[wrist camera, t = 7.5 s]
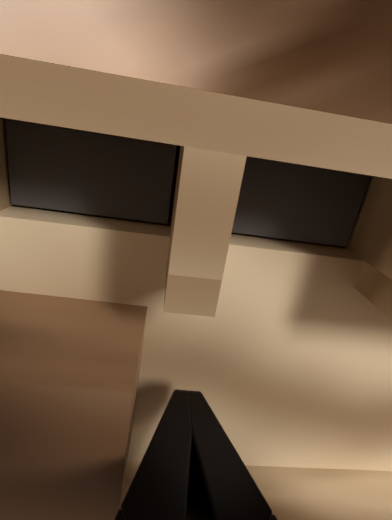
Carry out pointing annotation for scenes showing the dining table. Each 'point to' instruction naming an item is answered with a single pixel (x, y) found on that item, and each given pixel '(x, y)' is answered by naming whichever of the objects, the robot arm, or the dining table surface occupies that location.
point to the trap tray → (230, 282)
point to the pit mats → (160, 184)
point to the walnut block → (66, 404)
